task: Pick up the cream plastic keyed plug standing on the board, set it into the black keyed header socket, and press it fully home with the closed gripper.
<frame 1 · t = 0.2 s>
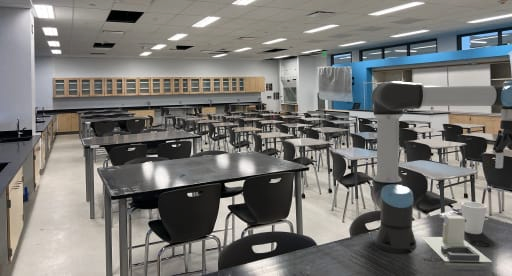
hand: (508, 171, 156), 28 cm above the table, tool pointing down, fingers open, 13 cm apart
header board: (453, 252, 143), on the table
plug: (453, 241, 149), point 1 cm above the table, touching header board
foam cup: (472, 235, 161), on the table
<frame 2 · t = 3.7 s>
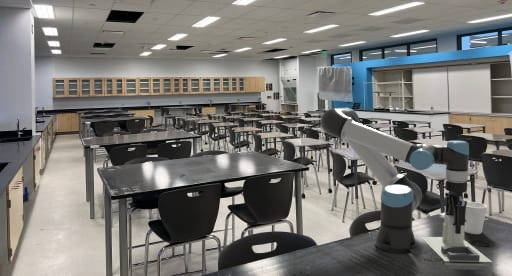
hand: (453, 238, 149), 3 cm above the table, tool pointing down, fingers closed on plug, 4 cm apart
plug: (453, 241, 149), point 2 cm above the table, touching gripper, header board
everything else where it was.
when the fingers open (4 cm above the table, at t = 8.0 s): plug drops 2 cm, resting on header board.
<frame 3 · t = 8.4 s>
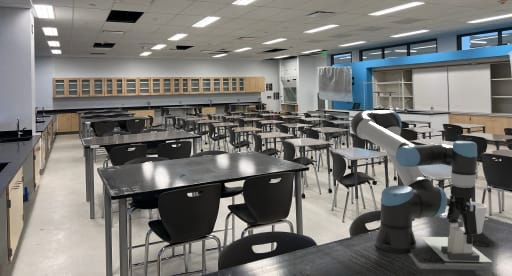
hand: (460, 245, 135), 5 cm above the table, tool pointing down, fingers open, 10 cm apart
plug: (459, 256, 136), point 1 cm above the table, touching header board
everything else where it was.
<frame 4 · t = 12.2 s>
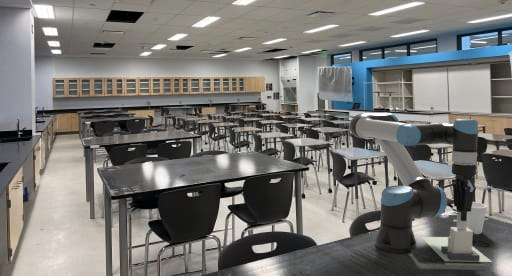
hand: (461, 228, 134), 12 cm above the table, tool pointing down, fingers closed
plug: (459, 255, 136), point 2 cm above the table, touching gripper, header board
everything else where it was.
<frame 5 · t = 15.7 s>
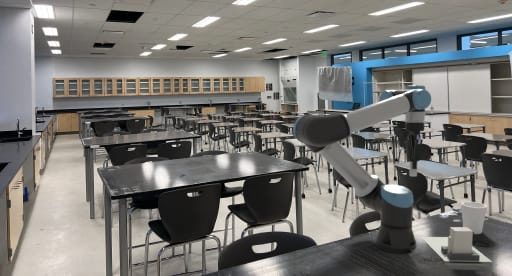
hand: (413, 176, 164), 24 cm above the table, tool pointing down, fingers closed
plug: (459, 256, 136), point 1 cm above the table, touching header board
everything else where it was.
at the end: plug 0.1 cm from the target spot, point 1.5 cm above the table; plug tilted 0°; the gripper is holding nothing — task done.
